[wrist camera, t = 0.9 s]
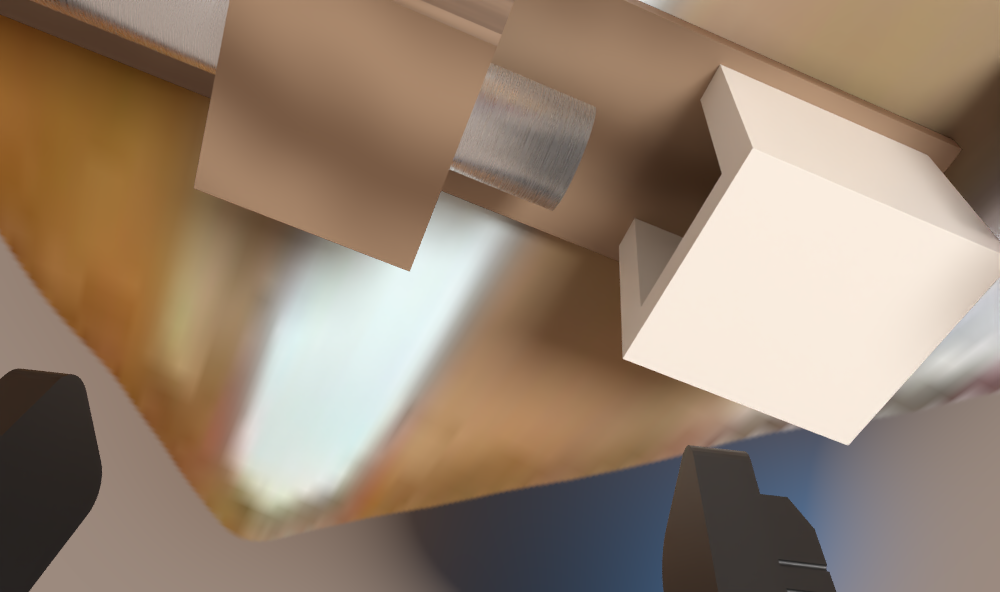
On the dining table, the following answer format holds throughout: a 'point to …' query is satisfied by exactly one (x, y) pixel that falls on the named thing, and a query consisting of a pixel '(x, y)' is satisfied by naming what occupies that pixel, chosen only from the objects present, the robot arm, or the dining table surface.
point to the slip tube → (488, 134)
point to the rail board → (458, 110)
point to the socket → (804, 265)
